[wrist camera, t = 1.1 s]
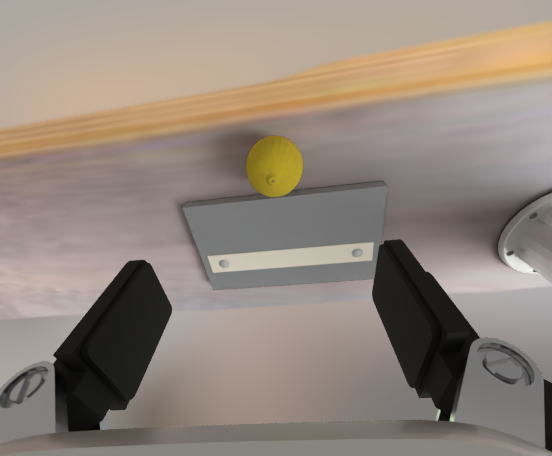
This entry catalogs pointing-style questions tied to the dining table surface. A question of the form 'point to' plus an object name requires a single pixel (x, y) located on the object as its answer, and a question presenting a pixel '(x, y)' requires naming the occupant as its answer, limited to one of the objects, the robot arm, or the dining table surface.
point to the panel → (290, 231)
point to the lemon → (274, 166)
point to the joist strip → (292, 257)
